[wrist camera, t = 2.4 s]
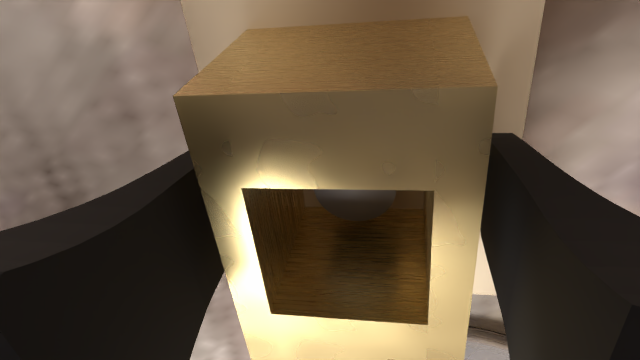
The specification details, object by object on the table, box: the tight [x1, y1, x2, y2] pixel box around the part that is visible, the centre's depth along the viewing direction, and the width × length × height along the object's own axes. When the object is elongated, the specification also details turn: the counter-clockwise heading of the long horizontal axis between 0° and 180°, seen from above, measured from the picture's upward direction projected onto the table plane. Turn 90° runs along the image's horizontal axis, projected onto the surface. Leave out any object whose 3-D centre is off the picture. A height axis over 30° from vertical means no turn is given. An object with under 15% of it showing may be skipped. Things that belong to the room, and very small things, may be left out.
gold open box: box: [173, 16, 498, 360], centre depth 10 cm, size 5×7×4 cm
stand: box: [180, 0, 545, 295], centre depth 12 cm, size 8×10×4 cm
